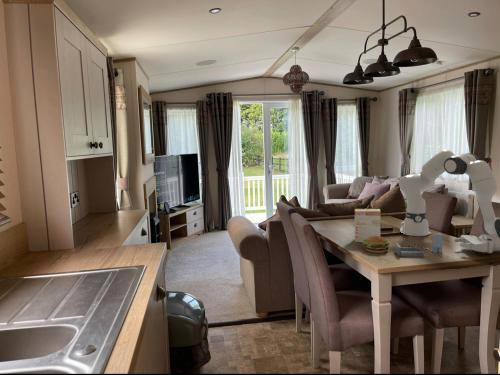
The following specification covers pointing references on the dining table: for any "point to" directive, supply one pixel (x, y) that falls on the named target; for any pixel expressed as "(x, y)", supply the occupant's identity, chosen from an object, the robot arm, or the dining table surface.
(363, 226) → the coffeecake box
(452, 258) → the dining table surface
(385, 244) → the food
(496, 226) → the robot arm
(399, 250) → the rail channel
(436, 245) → the pale blue rectangular prism
